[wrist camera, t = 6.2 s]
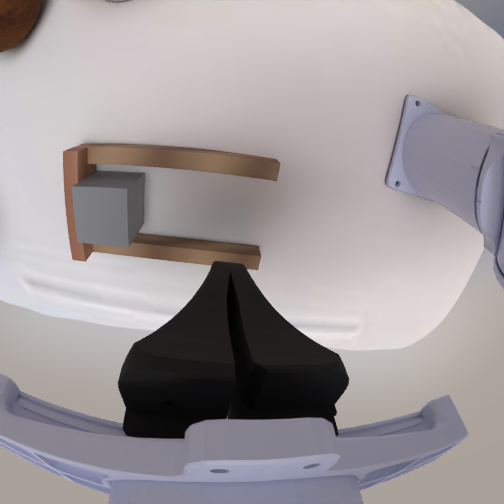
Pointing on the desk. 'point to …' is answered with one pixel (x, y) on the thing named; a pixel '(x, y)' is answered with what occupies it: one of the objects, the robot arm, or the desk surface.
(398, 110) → the desk surface
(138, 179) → the grey cube
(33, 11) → the wooden figurine
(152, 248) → the channel
